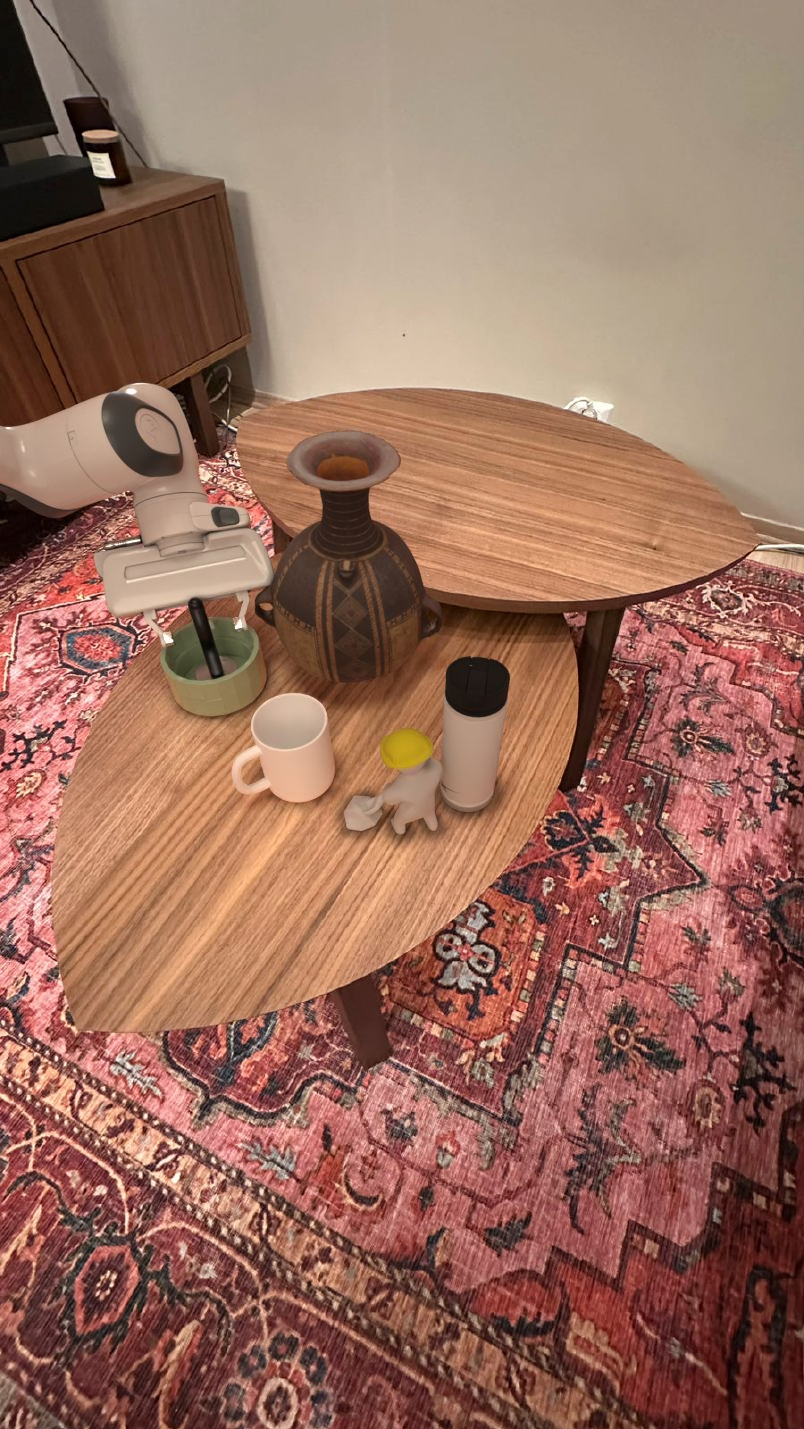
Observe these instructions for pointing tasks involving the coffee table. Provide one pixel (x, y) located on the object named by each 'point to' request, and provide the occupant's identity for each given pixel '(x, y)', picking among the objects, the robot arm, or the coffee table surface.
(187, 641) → the bowl
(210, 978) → the coffee table surface
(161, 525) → the robot arm
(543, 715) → the coffee table surface
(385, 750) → the figurine
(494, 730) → the travel mug
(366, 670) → the vase
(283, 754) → the cup
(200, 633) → the meat pounder
